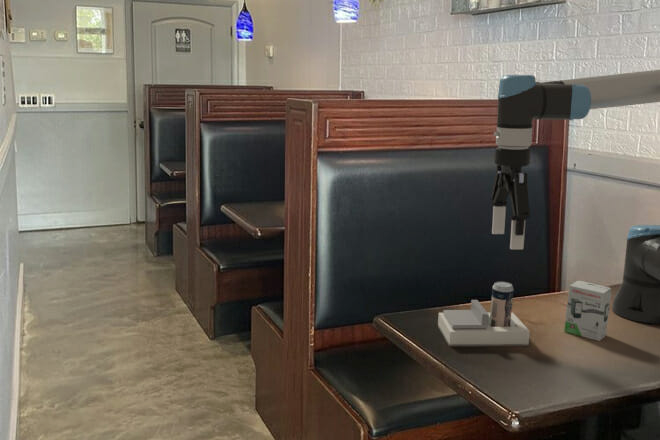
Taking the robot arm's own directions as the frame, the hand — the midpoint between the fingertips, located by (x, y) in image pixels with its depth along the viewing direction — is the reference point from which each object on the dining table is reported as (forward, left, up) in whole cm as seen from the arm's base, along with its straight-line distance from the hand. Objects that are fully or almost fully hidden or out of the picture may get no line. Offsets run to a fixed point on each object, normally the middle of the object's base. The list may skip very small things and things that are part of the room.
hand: (506, 241), depth 155 cm
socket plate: (+4, 0, -23) cm, 23 cm away
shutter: (+8, 0, -19) cm, 21 cm away
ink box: (-21, -1, -23) cm, 31 cm away
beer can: (0, 0, -22) cm, 22 cm away
